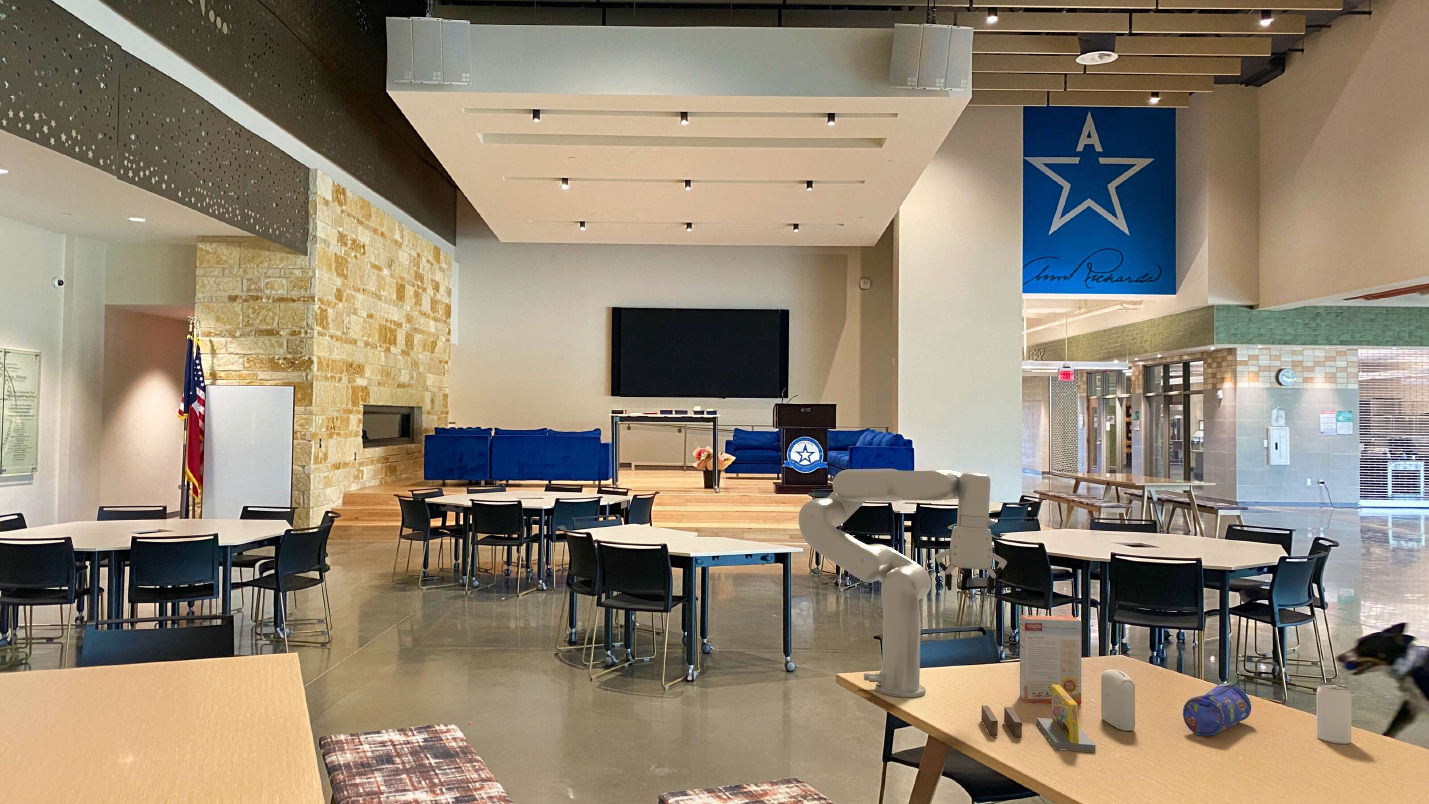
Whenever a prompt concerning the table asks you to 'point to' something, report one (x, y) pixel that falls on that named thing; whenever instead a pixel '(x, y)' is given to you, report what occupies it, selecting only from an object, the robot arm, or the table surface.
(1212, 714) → the pencil case
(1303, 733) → the table surface
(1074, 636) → the cracker box
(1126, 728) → the photo printer
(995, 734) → the walnut rack
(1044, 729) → the grey plinth
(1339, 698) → the can
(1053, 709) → the candy box
